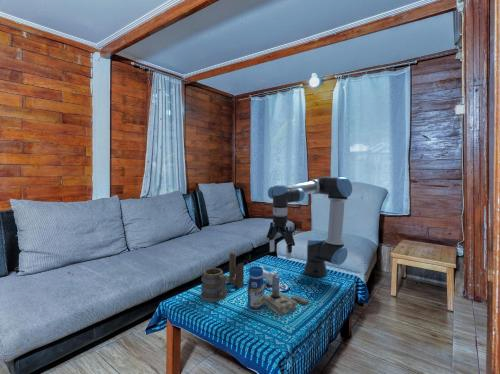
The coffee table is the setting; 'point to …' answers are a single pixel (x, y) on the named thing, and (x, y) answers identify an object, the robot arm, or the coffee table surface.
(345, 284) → the coffee table surface
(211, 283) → the tankard
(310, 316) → the coffee table surface
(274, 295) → the peg
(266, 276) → the bone shaped toy
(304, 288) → the coffee table surface
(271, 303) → the socket block
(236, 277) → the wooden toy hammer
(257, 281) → the beverage bottle
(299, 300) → the walnut slat
